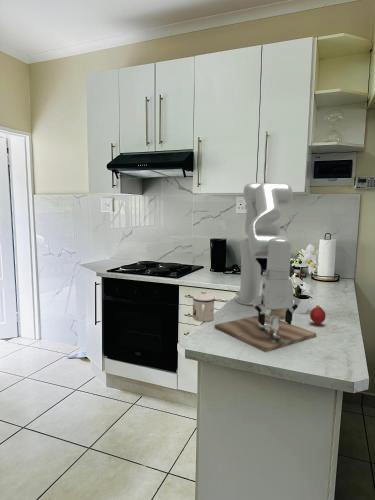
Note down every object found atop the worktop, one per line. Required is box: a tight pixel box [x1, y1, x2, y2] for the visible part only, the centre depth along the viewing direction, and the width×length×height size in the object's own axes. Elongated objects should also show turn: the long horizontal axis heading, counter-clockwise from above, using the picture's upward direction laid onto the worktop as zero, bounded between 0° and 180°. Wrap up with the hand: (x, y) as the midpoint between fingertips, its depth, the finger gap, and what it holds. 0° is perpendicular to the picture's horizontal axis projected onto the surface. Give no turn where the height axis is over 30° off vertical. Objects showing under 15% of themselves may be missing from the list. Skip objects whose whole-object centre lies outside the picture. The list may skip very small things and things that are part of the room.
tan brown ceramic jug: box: [270, 309, 287, 320], centre depth 144 cm, size 7×7×12 cm
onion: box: [309, 304, 327, 325], centre depth 135 cm, size 6×6×8 cm
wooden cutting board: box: [214, 314, 317, 353], centre depth 125 cm, size 26×26×1 cm
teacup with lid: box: [192, 290, 216, 323], centre depth 137 cm, size 12×9×12 cm
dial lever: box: [259, 315, 281, 341], centre depth 119 cm, size 15×4×7 cm, turn 8°
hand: (274, 323), depth 116 cm, fingers open, 9 cm apart
